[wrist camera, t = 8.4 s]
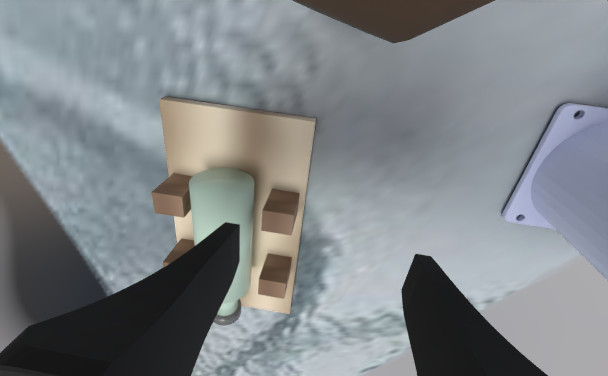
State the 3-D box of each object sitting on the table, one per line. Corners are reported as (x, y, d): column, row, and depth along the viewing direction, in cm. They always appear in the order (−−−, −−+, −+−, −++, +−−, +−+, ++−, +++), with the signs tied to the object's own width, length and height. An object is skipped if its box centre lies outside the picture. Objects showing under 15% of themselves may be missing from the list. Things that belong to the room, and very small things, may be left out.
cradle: (316, 118, 19) (310, 136, 16) (290, 306, 28) (284, 342, 25) (165, 96, 20) (131, 110, 16) (187, 288, 28) (168, 320, 25)
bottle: (262, 174, 20) (239, 204, 17) (256, 299, 26) (238, 339, 23) (208, 163, 21) (175, 190, 17) (214, 288, 27) (191, 326, 24)
